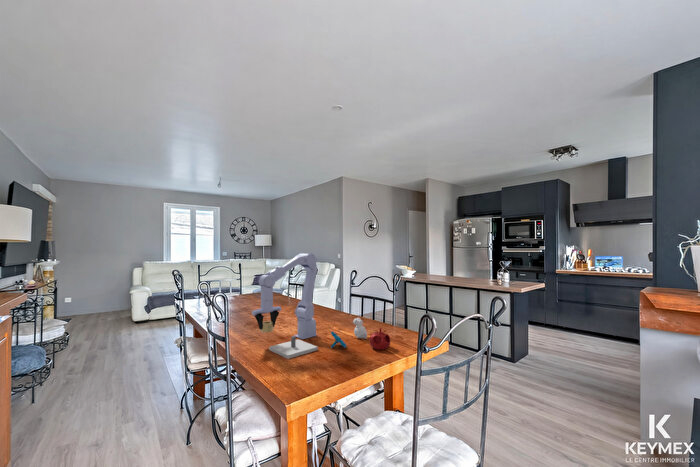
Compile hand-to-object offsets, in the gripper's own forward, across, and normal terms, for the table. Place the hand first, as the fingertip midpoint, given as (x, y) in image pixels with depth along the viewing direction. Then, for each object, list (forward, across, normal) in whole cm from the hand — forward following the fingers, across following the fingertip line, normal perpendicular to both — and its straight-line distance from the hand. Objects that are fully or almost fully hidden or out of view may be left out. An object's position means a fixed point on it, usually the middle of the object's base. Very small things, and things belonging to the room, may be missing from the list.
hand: (266, 327), depth 151 cm
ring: (+1, 0, 0) cm, 1 cm away
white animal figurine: (+9, -42, +22) cm, 48 cm away
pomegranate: (+9, -37, +40) cm, 55 cm away
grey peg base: (+9, -6, +14) cm, 17 cm away
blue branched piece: (+9, -24, +26) cm, 36 cm away
